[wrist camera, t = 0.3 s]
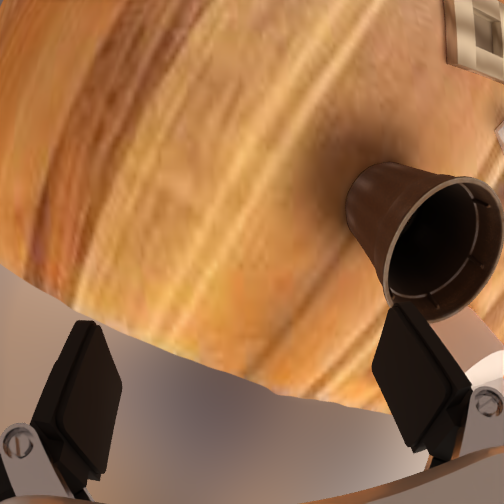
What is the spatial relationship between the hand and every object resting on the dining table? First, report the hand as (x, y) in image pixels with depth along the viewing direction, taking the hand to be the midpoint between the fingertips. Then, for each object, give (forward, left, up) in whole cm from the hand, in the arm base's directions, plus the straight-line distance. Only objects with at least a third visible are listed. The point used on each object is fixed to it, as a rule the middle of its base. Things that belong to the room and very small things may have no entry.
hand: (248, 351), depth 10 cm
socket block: (-22, +37, -31) cm, 53 cm away
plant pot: (+6, +21, -31) cm, 38 cm away
